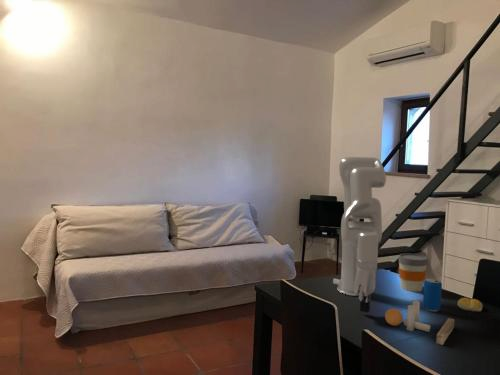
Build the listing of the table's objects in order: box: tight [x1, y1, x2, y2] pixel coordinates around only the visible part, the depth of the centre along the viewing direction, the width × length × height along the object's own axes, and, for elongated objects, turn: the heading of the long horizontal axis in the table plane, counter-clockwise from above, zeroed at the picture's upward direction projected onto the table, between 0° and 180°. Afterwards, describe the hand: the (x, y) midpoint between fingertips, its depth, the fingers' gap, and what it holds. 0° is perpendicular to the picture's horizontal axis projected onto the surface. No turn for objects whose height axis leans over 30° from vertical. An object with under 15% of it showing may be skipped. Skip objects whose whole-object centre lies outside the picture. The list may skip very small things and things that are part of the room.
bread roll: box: [457, 297, 483, 312], centre depth 176 cm, size 8×9×4 cm
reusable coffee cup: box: [398, 252, 428, 293], centre depth 199 cm, size 13×13×15 cm
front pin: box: [403, 318, 431, 333], centre depth 154 cm, size 2×2×8 cm
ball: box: [384, 308, 404, 327], centre depth 157 cm, size 6×6×6 cm
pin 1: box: [406, 304, 415, 332], centre depth 153 cm, size 2×2×8 cm
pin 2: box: [412, 300, 421, 323], centre depth 158 cm, size 2×2×8 cm
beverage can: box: [422, 277, 443, 313], centre depth 173 cm, size 6×6×12 cm
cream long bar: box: [435, 317, 455, 346], centre depth 149 cm, size 2×18×3 cm, turn 144°
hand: (364, 311), depth 166 cm, fingers closed
